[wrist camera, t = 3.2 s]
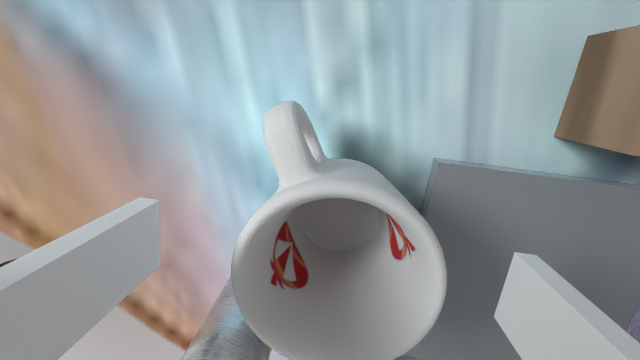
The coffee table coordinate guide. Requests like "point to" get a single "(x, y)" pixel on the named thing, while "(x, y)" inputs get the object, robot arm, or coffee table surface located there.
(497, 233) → the coaster
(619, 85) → the walnut block
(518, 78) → the coffee table surface
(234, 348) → the grey peg
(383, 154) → the coffee table surface
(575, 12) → the coffee table surface
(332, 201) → the cup
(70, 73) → the coffee table surface
